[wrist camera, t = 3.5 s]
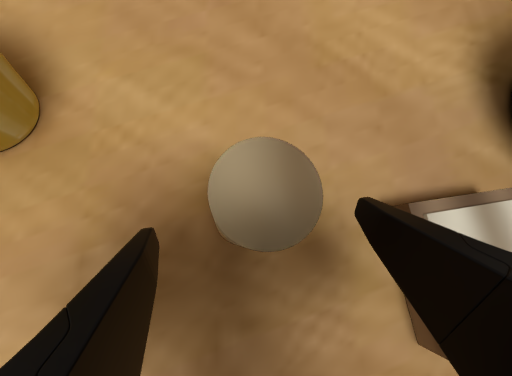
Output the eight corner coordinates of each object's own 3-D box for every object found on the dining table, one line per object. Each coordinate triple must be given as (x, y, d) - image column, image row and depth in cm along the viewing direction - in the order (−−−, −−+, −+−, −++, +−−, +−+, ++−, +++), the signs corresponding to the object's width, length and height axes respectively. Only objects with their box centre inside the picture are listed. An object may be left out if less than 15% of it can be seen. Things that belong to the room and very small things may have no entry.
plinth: (418, 344, 18) (461, 367, 15) (381, 208, 20) (411, 202, 17) (522, 313, 20) (580, 328, 16) (478, 193, 22) (521, 185, 19)
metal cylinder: (218, 249, 17) (215, 262, 7) (212, 194, 18) (201, 141, 8) (273, 240, 18) (334, 241, 8) (264, 188, 19) (310, 133, 9)
